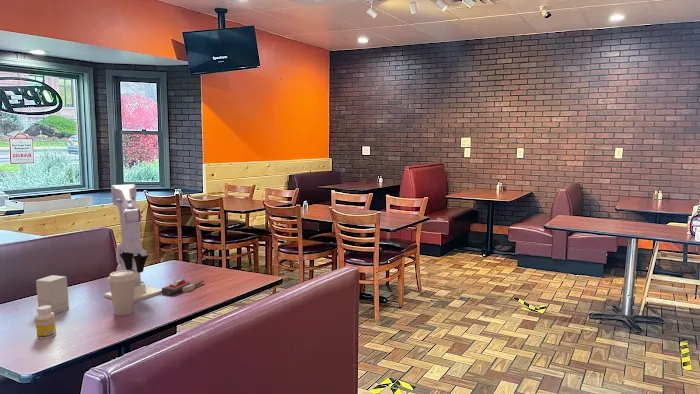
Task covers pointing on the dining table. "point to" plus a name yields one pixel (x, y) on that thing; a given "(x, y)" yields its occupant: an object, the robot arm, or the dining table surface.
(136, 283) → the column
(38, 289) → the supplement box
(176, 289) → the walkie-talkie
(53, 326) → the supplement bottle
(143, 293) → the jack stand base
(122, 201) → the robot arm
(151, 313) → the dining table surface
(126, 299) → the coffee cup
